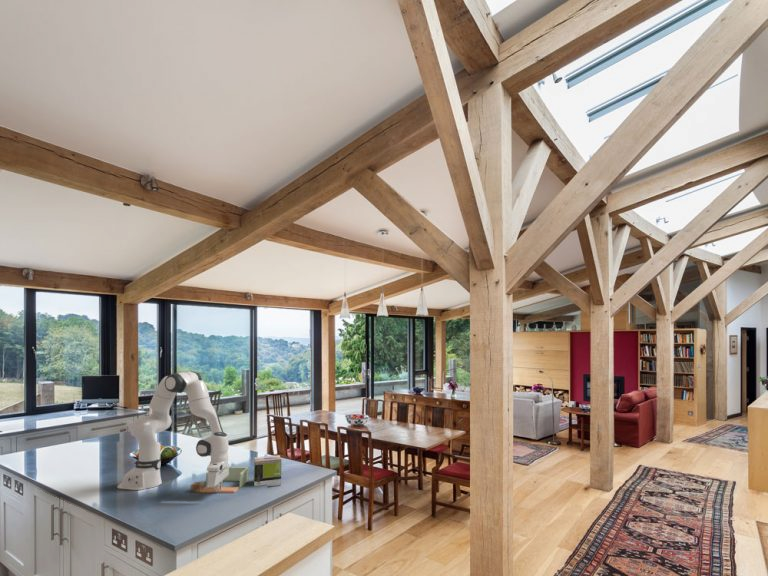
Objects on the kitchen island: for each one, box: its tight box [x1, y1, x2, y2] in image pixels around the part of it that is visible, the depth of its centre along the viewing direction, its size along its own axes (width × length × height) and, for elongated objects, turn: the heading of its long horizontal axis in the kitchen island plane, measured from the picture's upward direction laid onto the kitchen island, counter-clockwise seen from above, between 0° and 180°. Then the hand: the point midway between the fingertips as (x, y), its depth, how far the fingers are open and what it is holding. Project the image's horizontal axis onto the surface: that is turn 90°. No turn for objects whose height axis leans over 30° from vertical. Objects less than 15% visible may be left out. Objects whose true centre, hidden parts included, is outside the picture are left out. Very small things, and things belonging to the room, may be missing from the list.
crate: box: [205, 466, 250, 488], centre depth 250 cm, size 20×12×8 cm, turn 89°
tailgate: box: [199, 486, 240, 494], centre depth 239 cm, size 19×1×8 cm
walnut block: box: [190, 481, 205, 493], centre depth 239 cm, size 5×5×5 cm
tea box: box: [253, 454, 282, 487], centre depth 253 cm, size 15×10×15 cm, turn 108°
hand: (218, 490), depth 237 cm, fingers closed, pressing on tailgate
